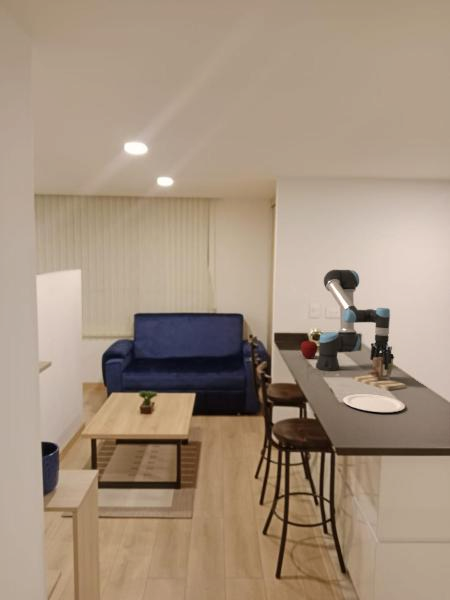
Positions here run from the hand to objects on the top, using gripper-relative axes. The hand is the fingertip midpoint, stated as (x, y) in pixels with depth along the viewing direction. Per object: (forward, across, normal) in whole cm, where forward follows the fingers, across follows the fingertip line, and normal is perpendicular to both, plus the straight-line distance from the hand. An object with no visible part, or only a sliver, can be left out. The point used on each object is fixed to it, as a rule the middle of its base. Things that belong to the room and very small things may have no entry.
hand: (379, 373), depth 279 cm
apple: (+5, -71, +7) cm, 71 cm away
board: (+5, +2, -3) cm, 6 cm away
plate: (+6, +29, -38) cm, 48 cm away
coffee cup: (+5, -5, +10) cm, 13 cm away
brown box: (+2, 0, -3) cm, 3 cm away
